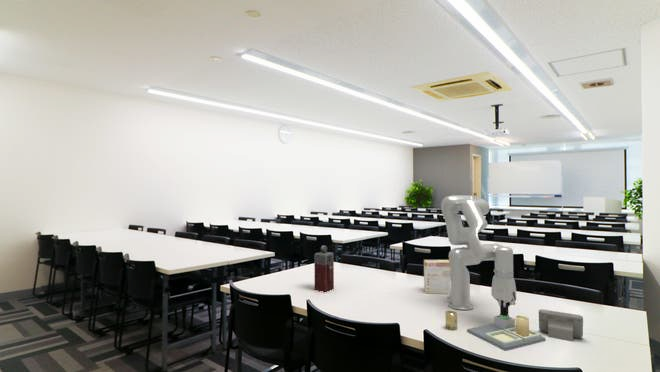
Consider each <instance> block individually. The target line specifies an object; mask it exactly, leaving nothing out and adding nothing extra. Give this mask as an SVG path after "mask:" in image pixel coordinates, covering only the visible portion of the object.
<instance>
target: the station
mask: <svg viewBox="0 0 660 372" xmlns="http://www.w3.org/2000/svg"><path fill="white" fill-rule="evenodd" d="M466 332H467V333H469V334H471V335H473V336H475V337H477V338H479V339H481V340H483V341H485V342H487V343H488V344H491V345H493V346H495V347H497V346H498V347H497V348H499V349H501V350H503V349H504V350H503V351H505V350H506V351H509V350H514V349H517V348H522V347H526V346H530V345H533V344H538V343H541V342H545V341H546V337H545V336H542V334H541V333H539V332H536V331H534V330H532V329H530V318H529V317H528V316H525V315H515V318H513V317H511V316H509V319H508V320H503V319H501V318H499V315H494V316H493V323H489V324H486V325H485V324H484V325H481V326H475V327H471V328H467V329H466Z"/></svg>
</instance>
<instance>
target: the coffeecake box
mask: <svg viewBox="0 0 660 372" xmlns="http://www.w3.org/2000/svg"><path fill="white" fill-rule="evenodd" d="M423 286H424V287H423V290H424V293H425V294H427V295H429V294H432V295H433V294H434V295H435V294H437V295H439V294H440V295H450V294H451V267H450V261H449V259H423Z"/></svg>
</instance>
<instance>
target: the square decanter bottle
mask: <svg viewBox="0 0 660 372" xmlns="http://www.w3.org/2000/svg"><path fill="white" fill-rule="evenodd" d="M334 255H335V254H334V252H330V251H328V246H327V245H321V247H320V252H316V253H314V256H313V257H314V260H313V261H314V267H313V268H314V291H315V290H318V291H317V292H320V291H323V292H322V293H325V292H327V291H329V292H331V291H333V290H335V289H334V287H335V286H334V285H335V281H334V280H335V279H334V278H335V277H334V274H335V273H334V267H335V266H334V264H335V262H334V257H335V256H334ZM332 289H333V290H332ZM330 290H331V291H330ZM327 293H328V292H327Z"/></svg>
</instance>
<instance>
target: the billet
mask: <svg viewBox="0 0 660 372" xmlns="http://www.w3.org/2000/svg"><path fill="white" fill-rule="evenodd" d="M445 328H446V329H447V330H449V331H457V330H458V312H456V311H455V310H454V311H453V310H446V311H445Z"/></svg>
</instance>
